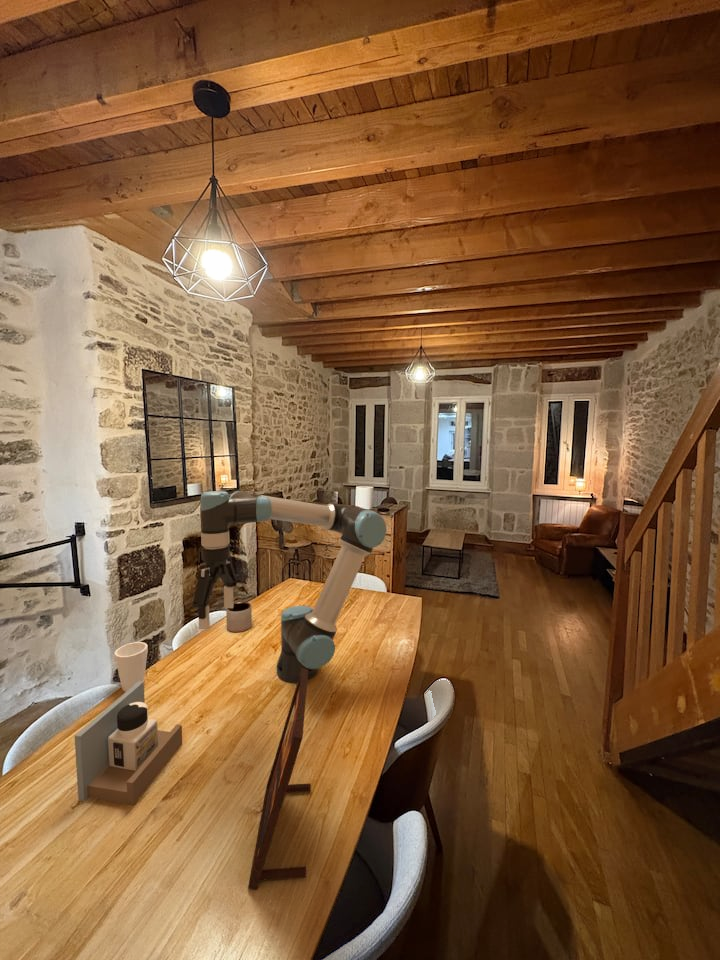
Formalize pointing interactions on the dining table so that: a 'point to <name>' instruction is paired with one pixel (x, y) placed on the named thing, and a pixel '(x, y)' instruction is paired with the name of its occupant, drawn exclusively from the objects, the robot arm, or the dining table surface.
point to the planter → (239, 617)
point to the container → (132, 737)
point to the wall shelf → (94, 756)
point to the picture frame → (281, 788)
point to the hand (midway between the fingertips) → (217, 617)
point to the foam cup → (131, 663)
